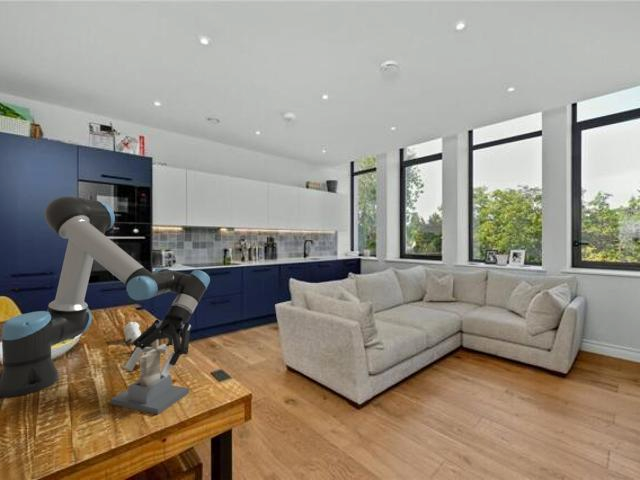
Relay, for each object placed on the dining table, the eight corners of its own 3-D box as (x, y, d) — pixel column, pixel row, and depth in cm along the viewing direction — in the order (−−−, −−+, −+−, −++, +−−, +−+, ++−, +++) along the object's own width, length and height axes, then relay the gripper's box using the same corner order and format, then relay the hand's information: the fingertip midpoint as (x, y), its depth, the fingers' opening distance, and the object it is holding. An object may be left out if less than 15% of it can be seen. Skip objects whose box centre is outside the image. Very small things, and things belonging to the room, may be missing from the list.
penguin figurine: (138, 319, 149) (145, 326, 140) (138, 336, 149) (144, 344, 141) (123, 321, 144) (129, 329, 136) (123, 339, 145) (129, 348, 136)
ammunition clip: (146, 351, 130) (146, 323, 130) (145, 350, 131) (145, 322, 131) (172, 345, 137) (172, 318, 137) (171, 344, 139) (171, 318, 139)
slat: (140, 396, 91) (139, 357, 90) (154, 388, 95) (153, 351, 95) (147, 398, 90) (146, 358, 90) (160, 389, 95) (160, 351, 94)
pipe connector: (157, 369, 112) (157, 342, 112) (134, 367, 114) (134, 341, 114) (175, 358, 122) (175, 334, 122) (154, 356, 124) (153, 332, 124)
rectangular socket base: (110, 403, 90) (109, 385, 90) (144, 384, 101) (144, 368, 101) (158, 414, 84) (157, 394, 84) (189, 392, 96) (188, 375, 96)
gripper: (216, 318, 103) (185, 382, 89) (159, 313, 111) (121, 371, 97) (206, 306, 98) (171, 373, 84) (146, 302, 106) (105, 361, 92)
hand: (144, 372), depth 91 cm, fingers open, 13 cm apart
